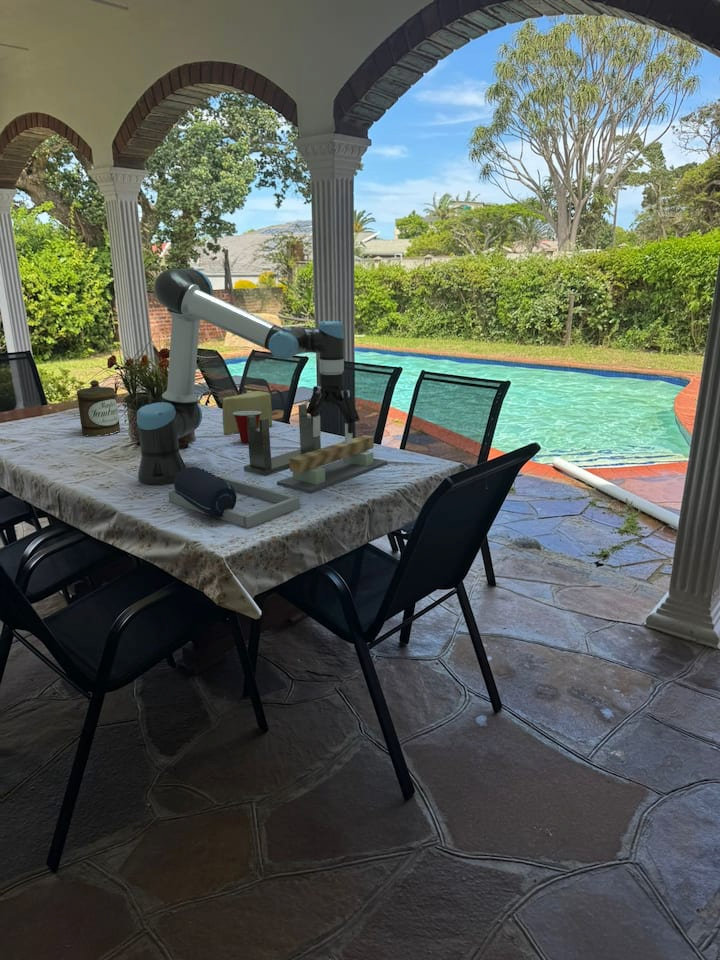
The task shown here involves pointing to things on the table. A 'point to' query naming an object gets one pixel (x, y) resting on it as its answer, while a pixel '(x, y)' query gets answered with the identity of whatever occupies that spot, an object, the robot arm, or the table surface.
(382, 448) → the table surface
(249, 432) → the grey notched post stand
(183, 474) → the portable speaker
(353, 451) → the rail
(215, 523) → the table surface
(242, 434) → the plastic cup
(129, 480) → the table surface
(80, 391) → the wooden container
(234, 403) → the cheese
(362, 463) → the plate with green blocks
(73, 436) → the table surface
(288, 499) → the speaker dock
